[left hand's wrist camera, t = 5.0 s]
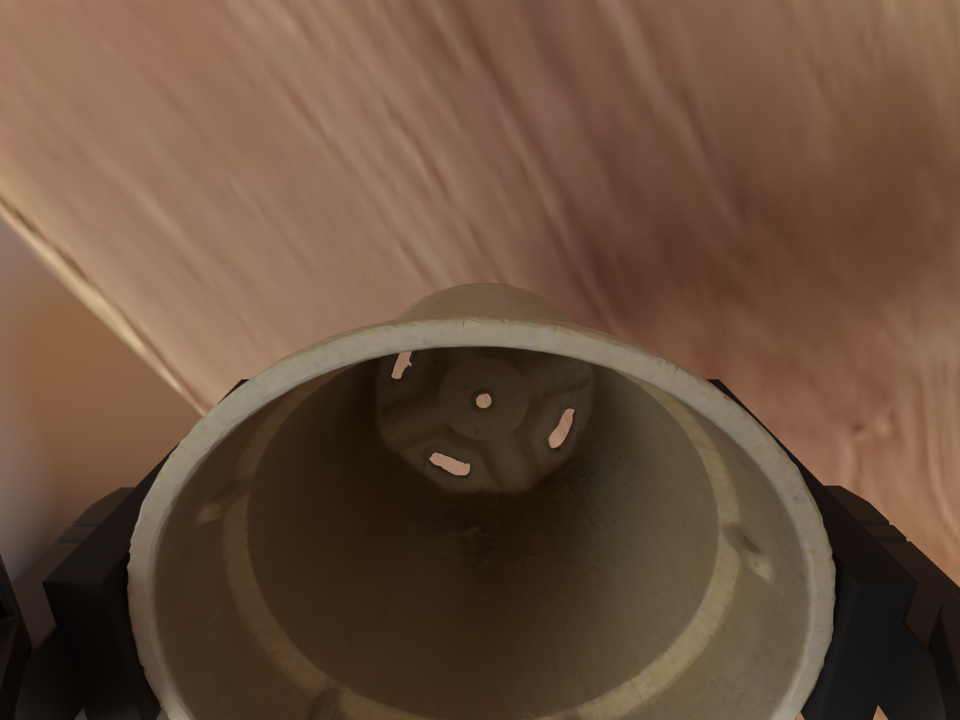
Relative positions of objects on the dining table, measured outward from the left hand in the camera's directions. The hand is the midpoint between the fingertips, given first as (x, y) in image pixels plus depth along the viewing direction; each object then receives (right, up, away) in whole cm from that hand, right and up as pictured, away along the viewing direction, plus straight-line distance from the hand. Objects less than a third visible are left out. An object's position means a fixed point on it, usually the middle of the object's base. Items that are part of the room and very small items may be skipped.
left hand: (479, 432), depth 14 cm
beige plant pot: (0, +1, +2) cm, 2 cm away
